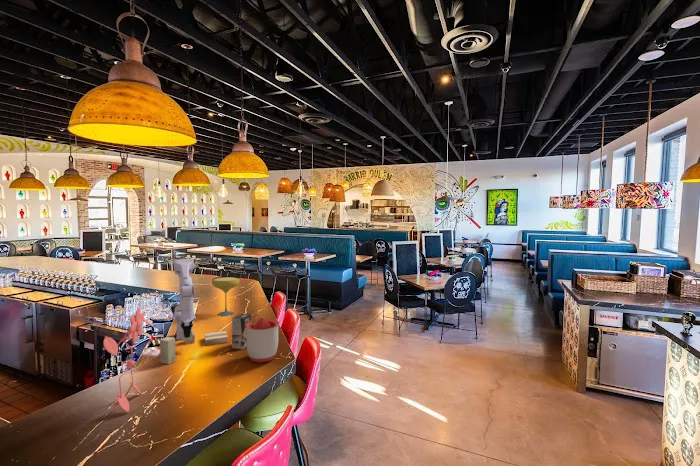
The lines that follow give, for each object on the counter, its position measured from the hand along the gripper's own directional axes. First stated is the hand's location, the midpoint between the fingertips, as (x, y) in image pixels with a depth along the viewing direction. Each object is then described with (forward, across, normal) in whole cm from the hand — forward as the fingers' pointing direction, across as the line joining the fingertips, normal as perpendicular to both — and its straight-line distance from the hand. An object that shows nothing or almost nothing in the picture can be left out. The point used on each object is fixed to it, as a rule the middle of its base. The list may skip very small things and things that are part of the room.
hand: (187, 335), depth 170 cm
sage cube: (+2, 0, 0) cm, 2 cm away
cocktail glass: (+8, +60, -23) cm, 65 cm away
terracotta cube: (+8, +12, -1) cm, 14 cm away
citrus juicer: (+8, -23, -33) cm, 41 cm away
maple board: (+8, +9, -14) cm, 18 cm away
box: (+8, -11, +8) cm, 16 cm away
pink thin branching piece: (+8, -46, +15) cm, 49 cm away
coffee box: (+8, -4, -26) cm, 27 cm away
